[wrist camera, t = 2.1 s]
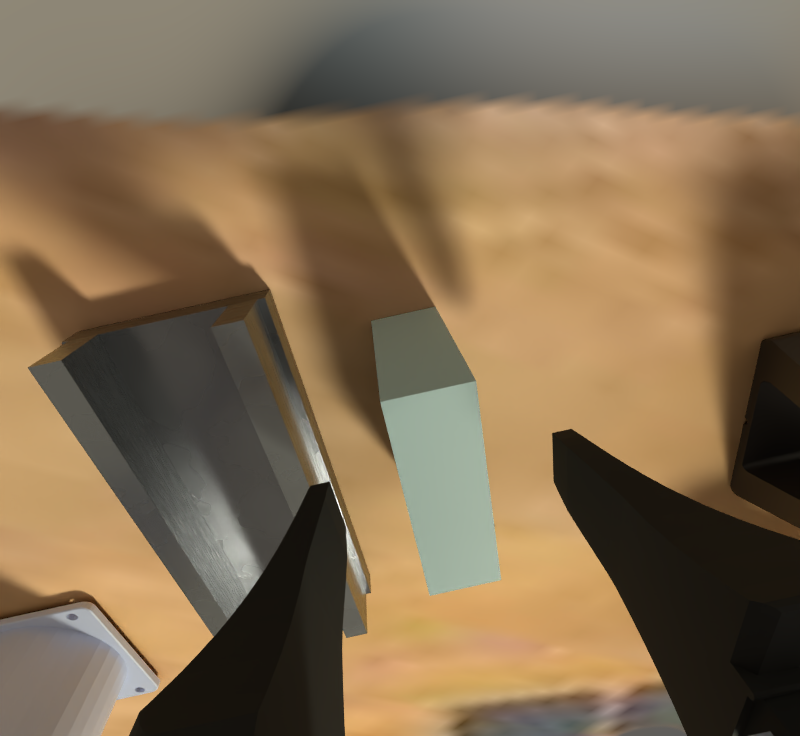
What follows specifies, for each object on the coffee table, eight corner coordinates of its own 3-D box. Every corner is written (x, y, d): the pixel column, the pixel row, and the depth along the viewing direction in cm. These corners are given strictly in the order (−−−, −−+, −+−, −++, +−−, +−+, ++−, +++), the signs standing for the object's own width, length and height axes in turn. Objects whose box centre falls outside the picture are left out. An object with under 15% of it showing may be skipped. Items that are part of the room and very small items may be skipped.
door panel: (408, 476, 20) (430, 595, 14) (371, 320, 16) (380, 401, 11) (461, 465, 20) (501, 580, 14) (435, 305, 16) (476, 380, 11)
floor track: (241, 603, 22) (226, 664, 20) (78, 331, 15) (19, 369, 12) (370, 575, 22) (372, 632, 20) (269, 289, 15) (251, 318, 12)
